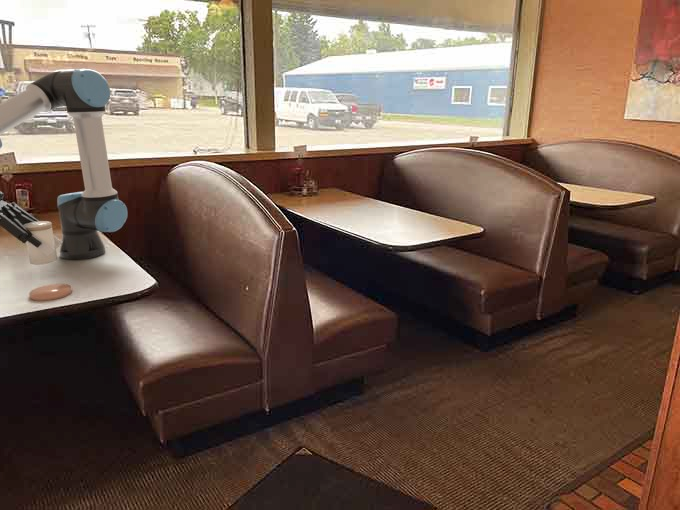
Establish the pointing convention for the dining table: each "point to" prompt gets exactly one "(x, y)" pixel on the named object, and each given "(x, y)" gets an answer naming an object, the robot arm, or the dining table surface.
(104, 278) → the dining table surface
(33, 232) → the cup
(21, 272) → the dining table surface
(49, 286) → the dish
